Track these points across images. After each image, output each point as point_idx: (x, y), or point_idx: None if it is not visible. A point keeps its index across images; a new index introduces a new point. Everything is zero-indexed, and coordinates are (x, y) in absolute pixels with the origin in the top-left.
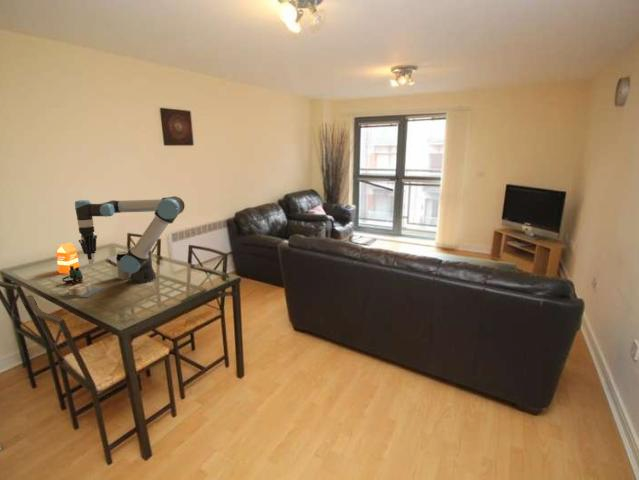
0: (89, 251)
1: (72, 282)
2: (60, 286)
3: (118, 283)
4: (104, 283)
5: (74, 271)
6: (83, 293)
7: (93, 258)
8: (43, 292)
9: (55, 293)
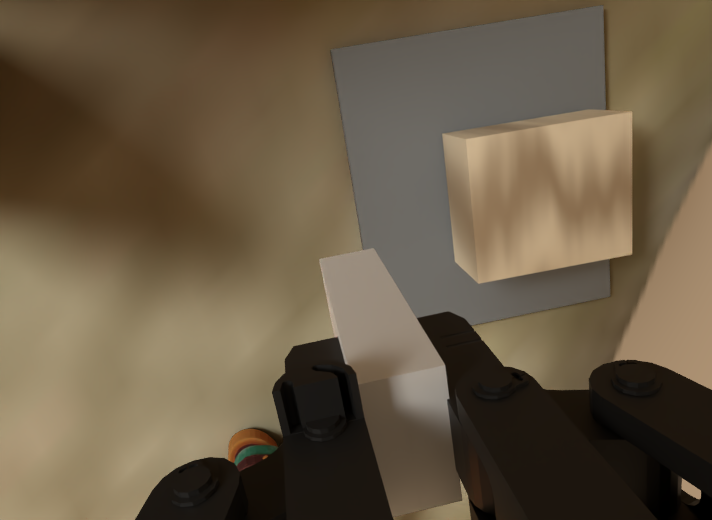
0: (581, 439)
1: None
2: None
3: (117, 19)
4: (187, 190)
5: None
6: (555, 116)
7: (361, 305)
8: None
9: None
